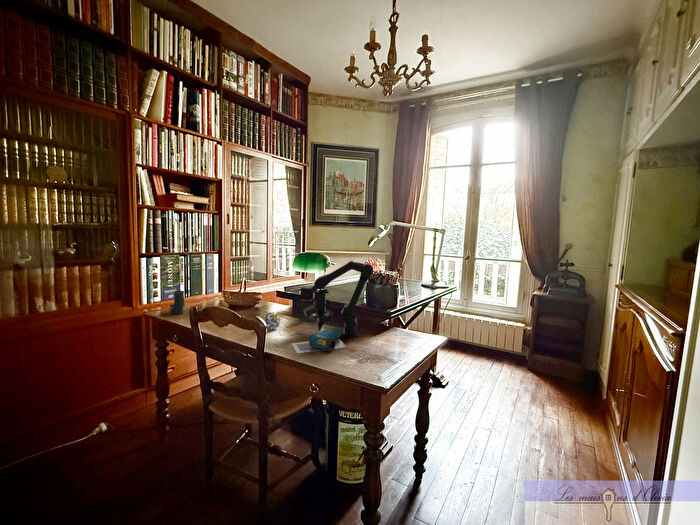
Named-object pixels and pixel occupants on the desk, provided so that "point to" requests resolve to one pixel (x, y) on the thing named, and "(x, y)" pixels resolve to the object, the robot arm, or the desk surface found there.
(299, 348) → the label panel
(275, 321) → the passion flower
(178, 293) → the scope
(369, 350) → the desk surface
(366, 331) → the desk surface
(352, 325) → the robot arm
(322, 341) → the infrared thermometer
